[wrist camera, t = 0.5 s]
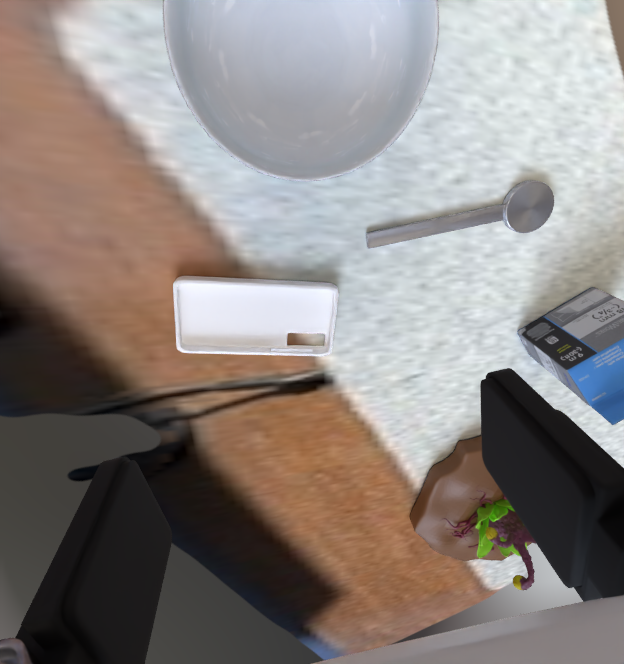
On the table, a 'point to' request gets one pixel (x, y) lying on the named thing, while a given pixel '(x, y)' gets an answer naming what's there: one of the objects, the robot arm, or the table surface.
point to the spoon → (480, 216)
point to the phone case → (252, 315)
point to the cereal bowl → (302, 77)
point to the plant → (470, 512)
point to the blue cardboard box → (584, 349)
